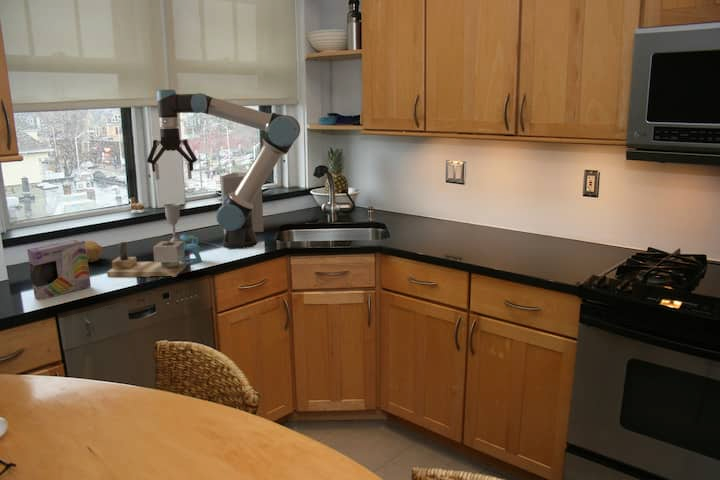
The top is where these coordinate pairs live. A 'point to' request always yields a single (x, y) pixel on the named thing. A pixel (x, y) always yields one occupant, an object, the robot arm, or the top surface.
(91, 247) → the potato
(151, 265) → the board
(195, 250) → the chair
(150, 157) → the robot arm
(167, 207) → the chalice
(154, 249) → the collar
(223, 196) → the cream rectangular carton
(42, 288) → the cake pan box
